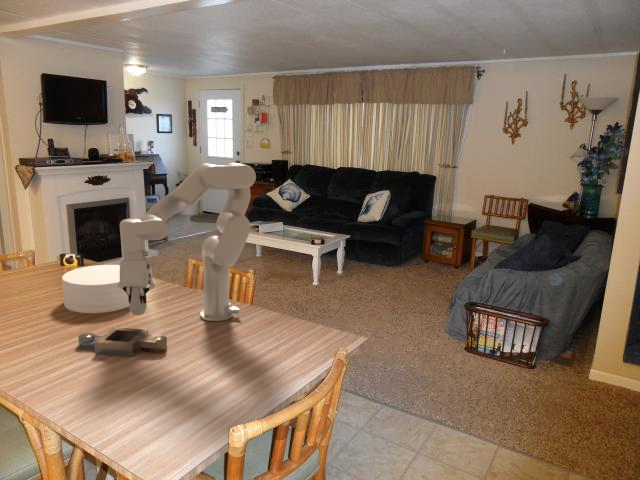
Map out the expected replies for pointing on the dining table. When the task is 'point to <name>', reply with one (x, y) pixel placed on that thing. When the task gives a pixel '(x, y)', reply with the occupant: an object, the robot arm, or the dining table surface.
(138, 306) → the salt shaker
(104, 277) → the plate stack
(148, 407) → the dining table surface
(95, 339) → the lower end link
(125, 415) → the dining table surface
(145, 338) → the upper end link
